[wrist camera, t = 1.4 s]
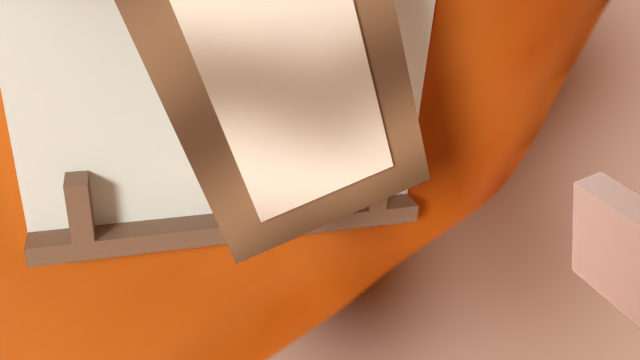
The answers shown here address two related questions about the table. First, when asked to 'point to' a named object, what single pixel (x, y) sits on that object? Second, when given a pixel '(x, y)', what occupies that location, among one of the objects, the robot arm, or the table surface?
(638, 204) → the robot arm
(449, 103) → the table surface
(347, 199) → the wooden box
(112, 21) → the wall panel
